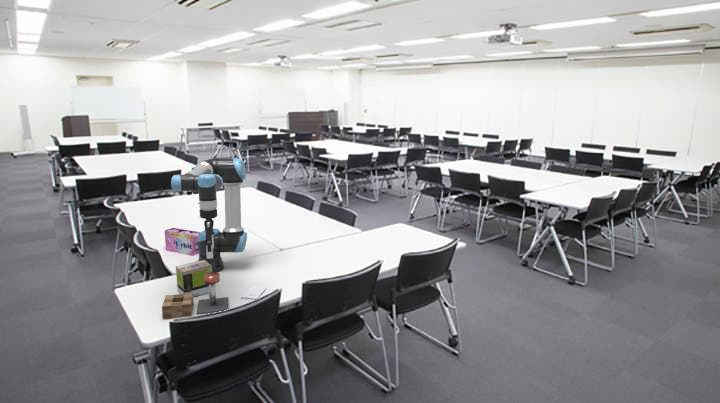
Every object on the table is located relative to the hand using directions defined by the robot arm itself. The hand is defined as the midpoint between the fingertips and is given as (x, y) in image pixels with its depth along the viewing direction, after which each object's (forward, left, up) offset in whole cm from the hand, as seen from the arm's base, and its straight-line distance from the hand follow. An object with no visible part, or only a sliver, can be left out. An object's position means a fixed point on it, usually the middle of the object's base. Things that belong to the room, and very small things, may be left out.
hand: (210, 253), depth 197 cm
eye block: (+2, -15, -27) cm, 31 cm away
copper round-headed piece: (0, 0, -26) cm, 26 cm away
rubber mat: (0, 0, -27) cm, 27 cm away
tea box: (-18, -9, -27) cm, 33 cm away
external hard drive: (-9, +19, -28) cm, 35 cm away
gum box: (-83, -21, -27) cm, 90 cm away
